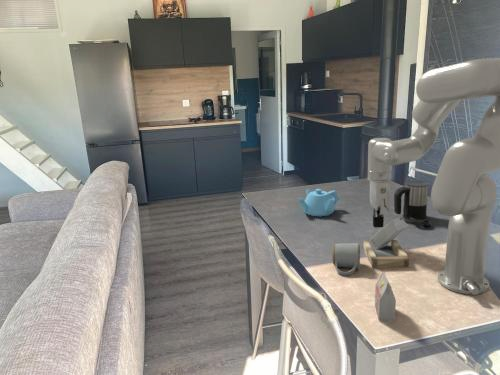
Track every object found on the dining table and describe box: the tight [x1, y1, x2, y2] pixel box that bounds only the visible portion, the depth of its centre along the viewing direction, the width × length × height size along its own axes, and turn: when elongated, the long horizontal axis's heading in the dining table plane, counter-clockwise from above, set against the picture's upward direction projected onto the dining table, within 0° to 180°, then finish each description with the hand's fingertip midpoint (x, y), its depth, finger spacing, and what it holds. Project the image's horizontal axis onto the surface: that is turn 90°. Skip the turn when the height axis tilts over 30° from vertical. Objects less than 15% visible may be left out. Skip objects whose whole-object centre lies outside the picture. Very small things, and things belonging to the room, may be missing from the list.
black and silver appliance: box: [393, 180, 432, 227], centre depth 153 cm, size 14×16×15 cm
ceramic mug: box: [332, 242, 361, 276], centre depth 119 cm, size 11×8×8 cm
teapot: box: [297, 188, 339, 218], centre depth 169 cm, size 15×15×11 cm
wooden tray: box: [362, 239, 410, 269], centre depth 125 cm, size 14×11×3 cm
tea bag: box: [374, 270, 397, 323], centre depth 95 cm, size 4×7×10 cm, turn 170°
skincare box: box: [369, 216, 409, 250], centre depth 129 cm, size 6×4×12 cm
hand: (378, 226), depth 133 cm, fingers closed
